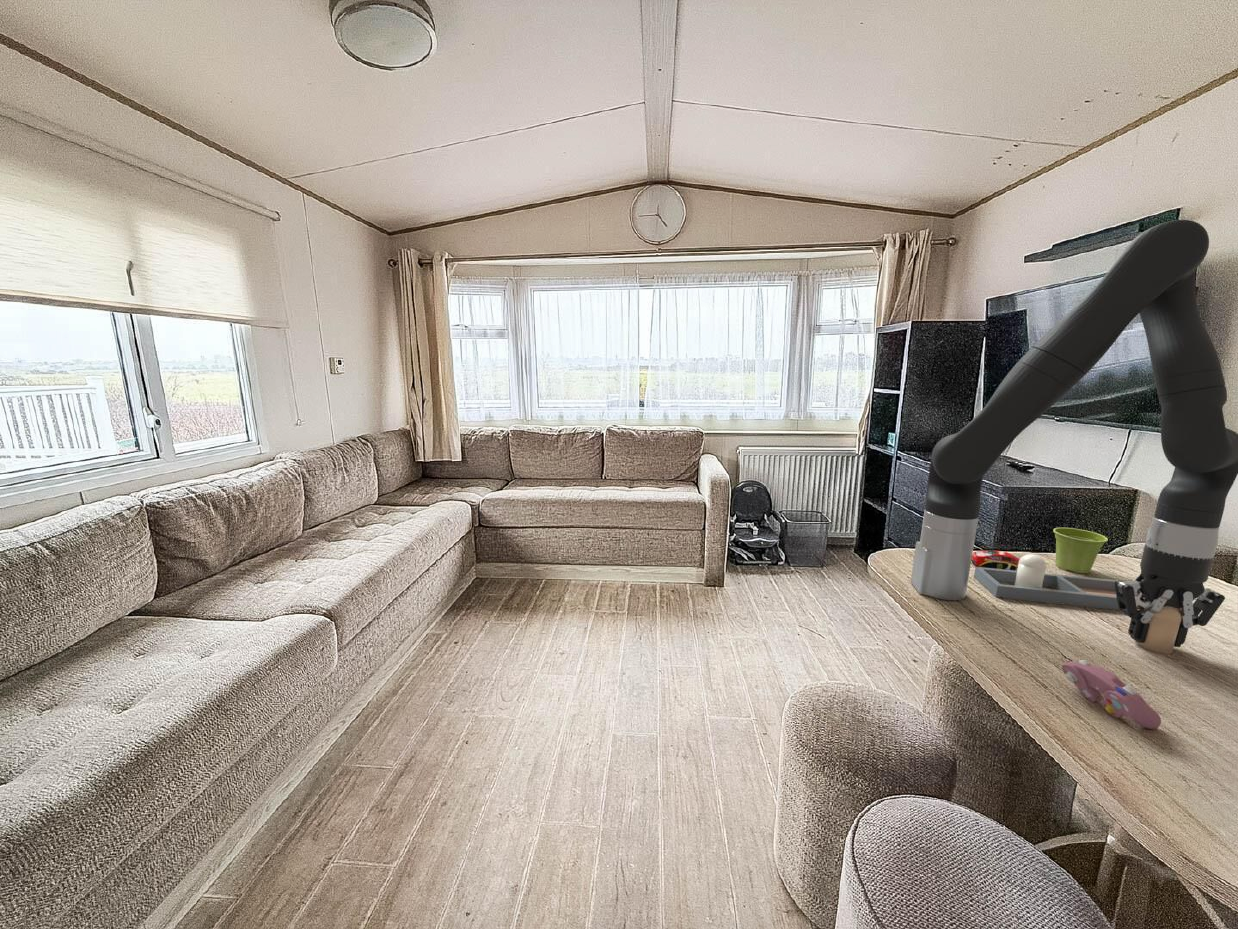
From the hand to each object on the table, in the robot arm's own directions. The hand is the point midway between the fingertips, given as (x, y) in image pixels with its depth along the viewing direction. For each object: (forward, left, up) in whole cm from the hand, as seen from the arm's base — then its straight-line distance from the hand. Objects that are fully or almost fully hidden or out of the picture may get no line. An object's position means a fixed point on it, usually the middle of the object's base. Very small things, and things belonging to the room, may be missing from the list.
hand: (1154, 642), depth 84 cm
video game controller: (-19, -21, -1) cm, 28 cm away
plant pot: (+8, +36, -1) cm, 37 cm away
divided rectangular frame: (-2, +19, -1) cm, 19 cm away
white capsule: (-10, +19, -1) cm, 21 cm away
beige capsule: (0, 0, -1) cm, 1 cm away
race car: (-8, +32, -1) cm, 33 cm away
